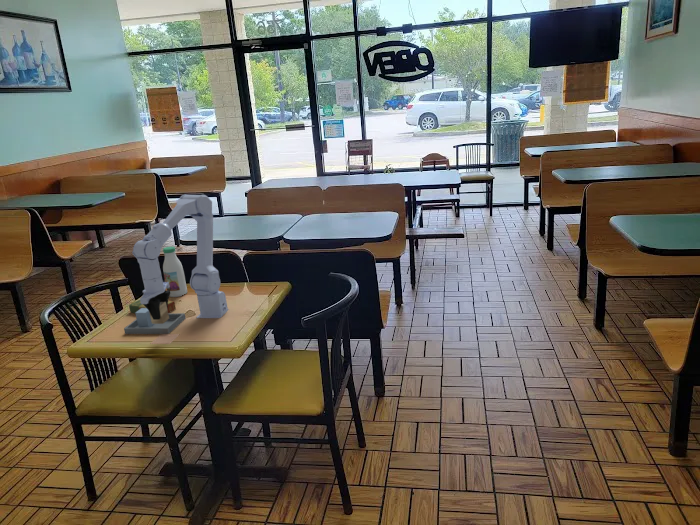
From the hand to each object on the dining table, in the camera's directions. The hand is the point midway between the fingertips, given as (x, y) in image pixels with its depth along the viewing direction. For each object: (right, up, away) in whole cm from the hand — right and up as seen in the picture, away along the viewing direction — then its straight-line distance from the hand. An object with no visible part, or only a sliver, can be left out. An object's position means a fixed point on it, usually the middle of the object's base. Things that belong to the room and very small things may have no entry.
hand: (160, 316), depth 170 cm
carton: (-13, -2, +28) cm, 31 cm away
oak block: (0, -2, +1) cm, 2 cm away
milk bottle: (-9, +4, +45) cm, 46 cm away
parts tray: (-6, -5, +14) cm, 16 cm away
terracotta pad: (+1, -8, +3) cm, 9 cm away
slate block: (-10, -5, +14) cm, 18 cm away
